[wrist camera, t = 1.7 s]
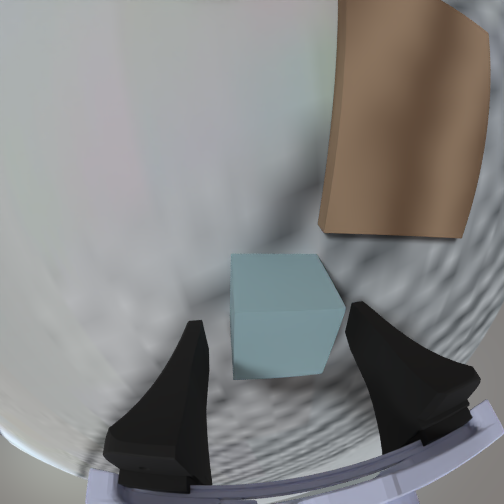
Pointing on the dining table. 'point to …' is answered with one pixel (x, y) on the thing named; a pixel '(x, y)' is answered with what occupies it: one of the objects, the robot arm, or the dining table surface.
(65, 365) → the dining table surface
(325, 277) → the teal cube
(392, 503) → the robot arm
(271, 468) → the dining table surface
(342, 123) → the walnut board
